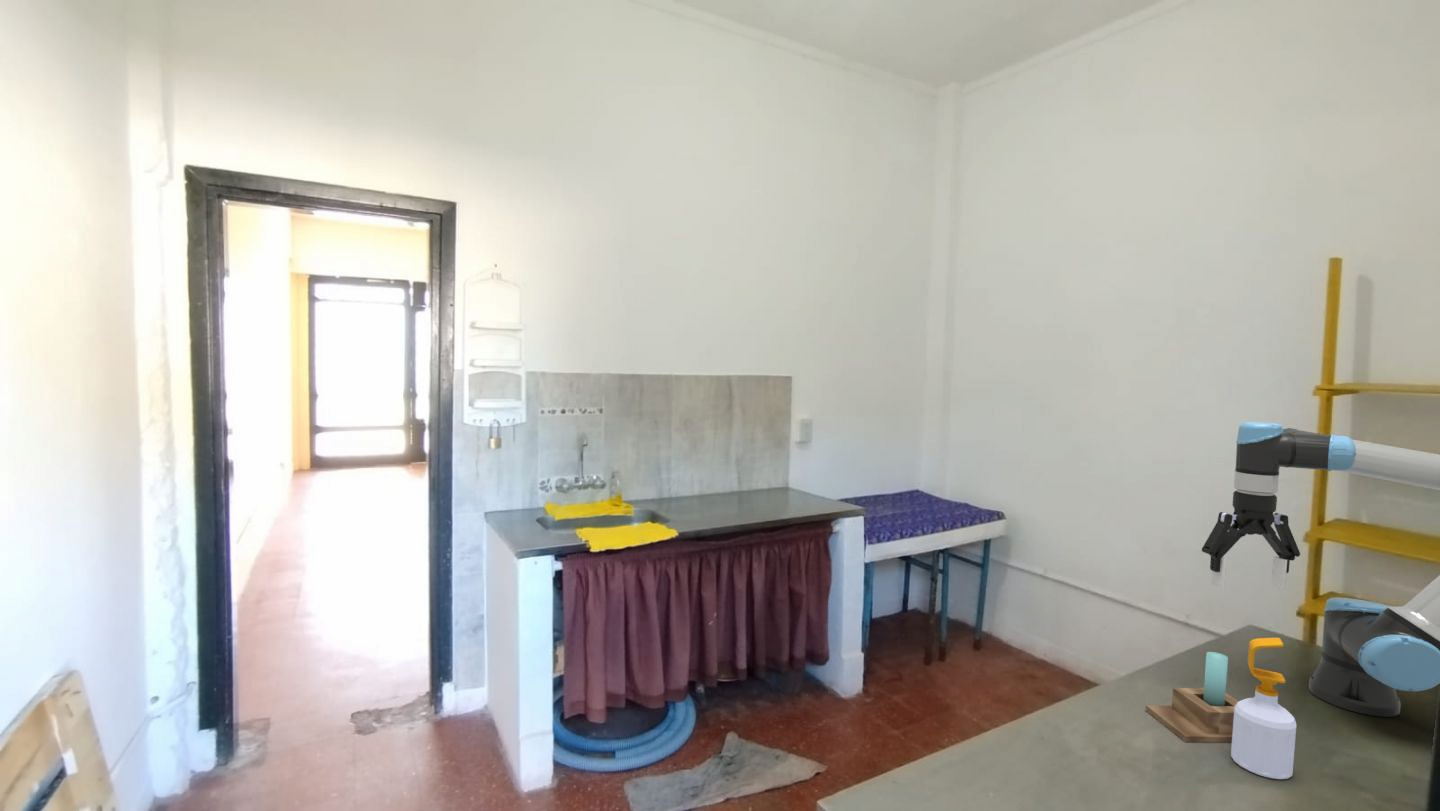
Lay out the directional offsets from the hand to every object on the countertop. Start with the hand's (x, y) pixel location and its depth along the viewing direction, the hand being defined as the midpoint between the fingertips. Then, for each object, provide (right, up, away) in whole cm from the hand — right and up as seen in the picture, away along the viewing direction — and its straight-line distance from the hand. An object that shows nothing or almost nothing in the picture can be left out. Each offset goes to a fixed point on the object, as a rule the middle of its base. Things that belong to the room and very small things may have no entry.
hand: (1248, 586), depth 147 cm
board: (-14, -27, -9) cm, 32 cm away
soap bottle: (-15, -28, -22) cm, 39 cm away
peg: (-14, -26, -9) cm, 31 cm away
